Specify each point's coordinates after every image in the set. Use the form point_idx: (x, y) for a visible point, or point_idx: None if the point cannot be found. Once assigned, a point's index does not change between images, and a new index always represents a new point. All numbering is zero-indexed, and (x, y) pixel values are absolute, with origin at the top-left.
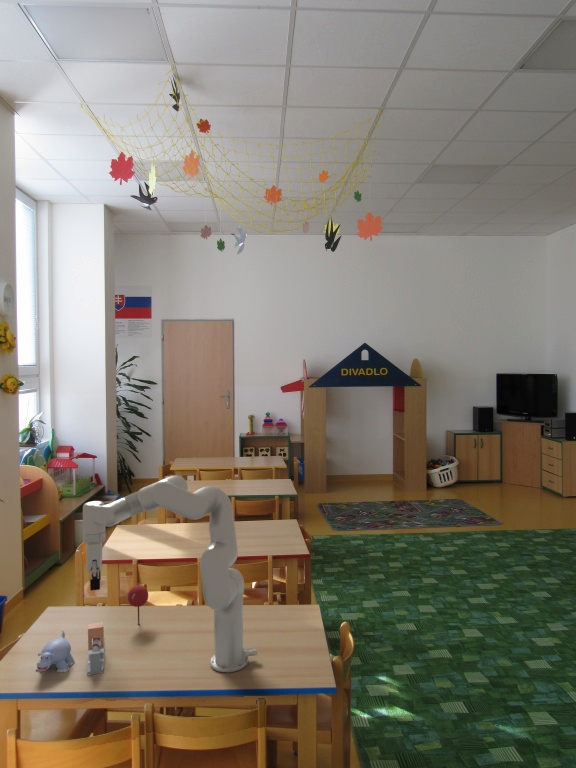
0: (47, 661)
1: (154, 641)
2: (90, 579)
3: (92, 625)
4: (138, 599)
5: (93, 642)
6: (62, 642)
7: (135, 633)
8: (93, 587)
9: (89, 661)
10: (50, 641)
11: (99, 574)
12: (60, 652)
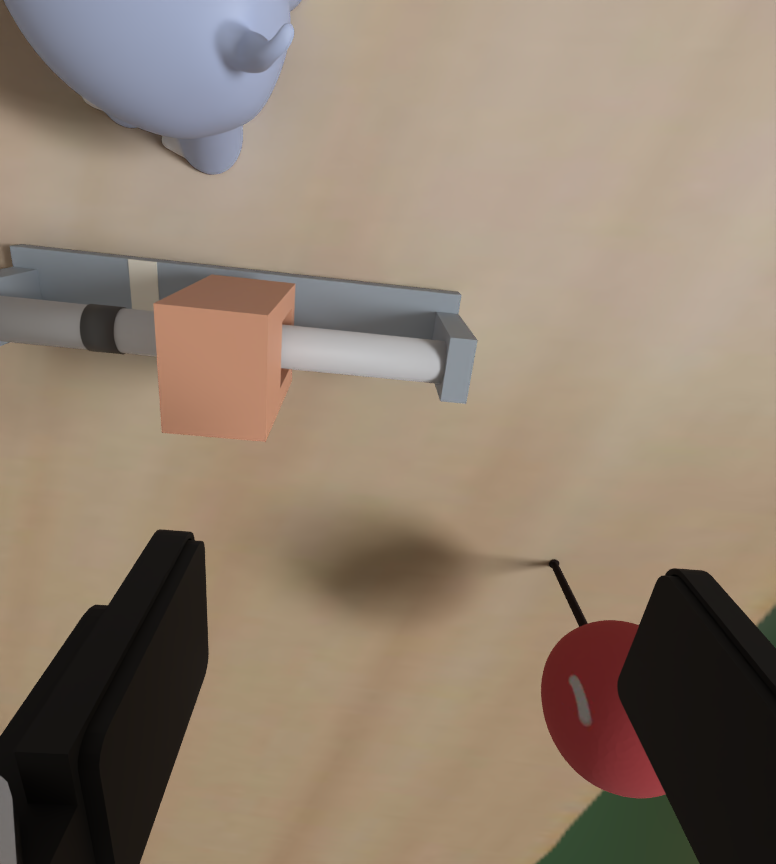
0: None
1: (319, 602)
2: (16, 753)
3: (224, 349)
4: (548, 702)
5: None
6: (95, 38)
7: (452, 537)
8: (85, 622)
9: (145, 270)
10: None
11: (675, 796)
12: (17, 24)
